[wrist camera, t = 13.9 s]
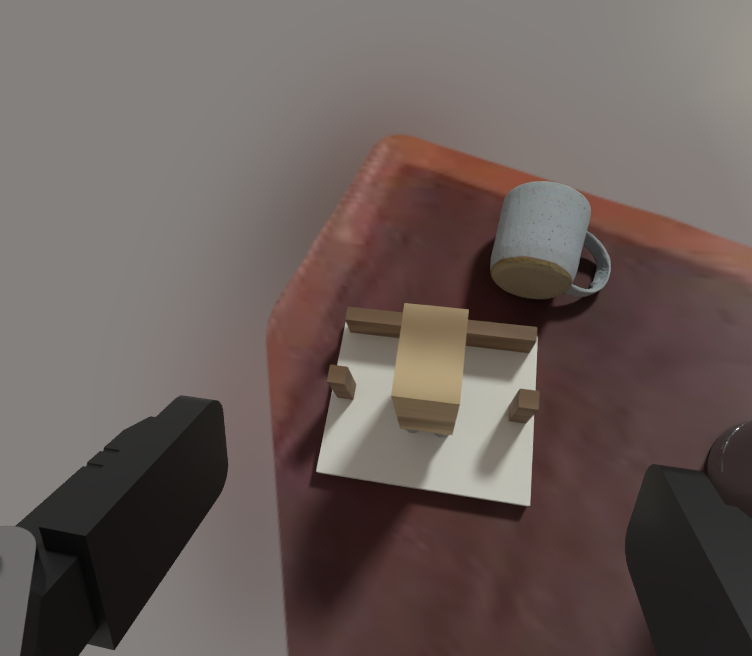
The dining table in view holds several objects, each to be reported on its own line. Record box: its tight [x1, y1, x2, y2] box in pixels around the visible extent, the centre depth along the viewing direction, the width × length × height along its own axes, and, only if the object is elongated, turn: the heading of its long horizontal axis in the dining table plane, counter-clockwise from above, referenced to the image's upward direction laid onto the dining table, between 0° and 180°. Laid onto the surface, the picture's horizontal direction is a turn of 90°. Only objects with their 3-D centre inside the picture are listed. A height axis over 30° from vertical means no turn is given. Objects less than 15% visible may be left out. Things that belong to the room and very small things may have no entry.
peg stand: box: [316, 323, 538, 507], centre depth 42 cm, size 14×17×1 cm
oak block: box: [391, 303, 469, 435], centre depth 34 cm, size 6×4×10 cm, turn 171°
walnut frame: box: [327, 307, 539, 423], centre depth 41 cm, size 7×16×5 cm, turn 81°
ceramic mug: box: [490, 181, 611, 299], centre depth 43 cm, size 11×8×8 cm
